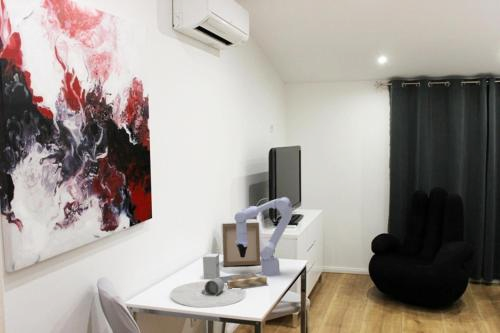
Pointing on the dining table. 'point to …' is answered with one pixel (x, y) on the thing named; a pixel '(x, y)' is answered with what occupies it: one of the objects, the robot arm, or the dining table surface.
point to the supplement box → (211, 266)
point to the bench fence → (247, 282)
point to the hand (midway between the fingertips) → (242, 257)
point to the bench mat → (227, 278)
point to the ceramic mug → (213, 286)
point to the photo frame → (230, 247)
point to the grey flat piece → (241, 276)
